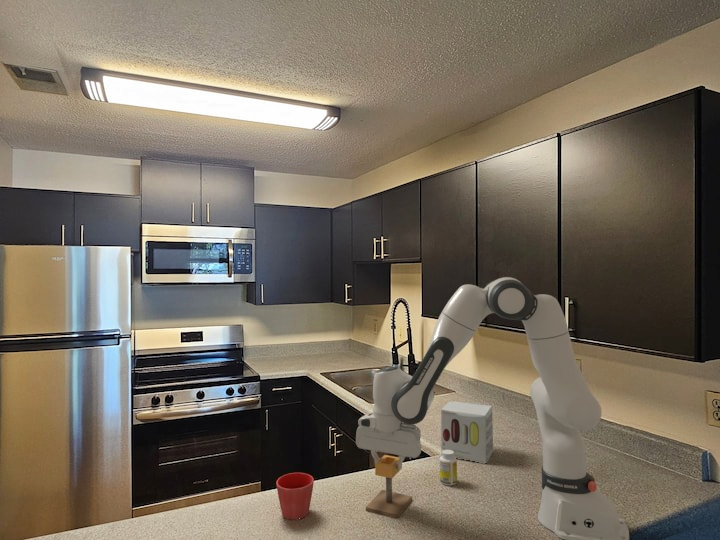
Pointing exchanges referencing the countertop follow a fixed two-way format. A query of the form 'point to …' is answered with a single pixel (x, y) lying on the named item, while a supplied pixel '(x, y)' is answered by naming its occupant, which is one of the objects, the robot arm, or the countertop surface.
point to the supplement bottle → (448, 468)
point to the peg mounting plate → (389, 502)
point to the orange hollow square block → (386, 466)
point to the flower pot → (295, 494)
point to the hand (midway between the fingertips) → (388, 466)
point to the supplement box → (467, 430)
